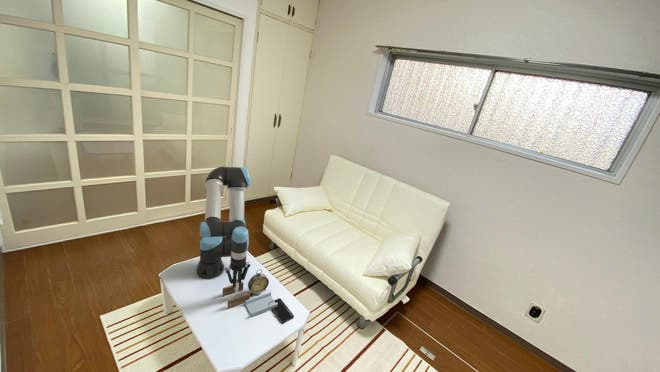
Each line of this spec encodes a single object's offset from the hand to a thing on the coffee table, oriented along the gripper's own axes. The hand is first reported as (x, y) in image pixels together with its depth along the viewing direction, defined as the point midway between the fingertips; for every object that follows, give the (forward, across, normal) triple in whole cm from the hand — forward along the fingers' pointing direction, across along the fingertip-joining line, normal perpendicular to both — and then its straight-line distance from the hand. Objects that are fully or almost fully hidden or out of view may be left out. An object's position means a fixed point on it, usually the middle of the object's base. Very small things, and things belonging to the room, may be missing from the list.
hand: (236, 290), depth 143 cm
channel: (+5, 0, -1) cm, 5 cm away
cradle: (+5, +10, -12) cm, 16 cm away
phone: (+5, +18, -19) cm, 27 cm away
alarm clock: (+5, +12, -2) cm, 13 cm away
